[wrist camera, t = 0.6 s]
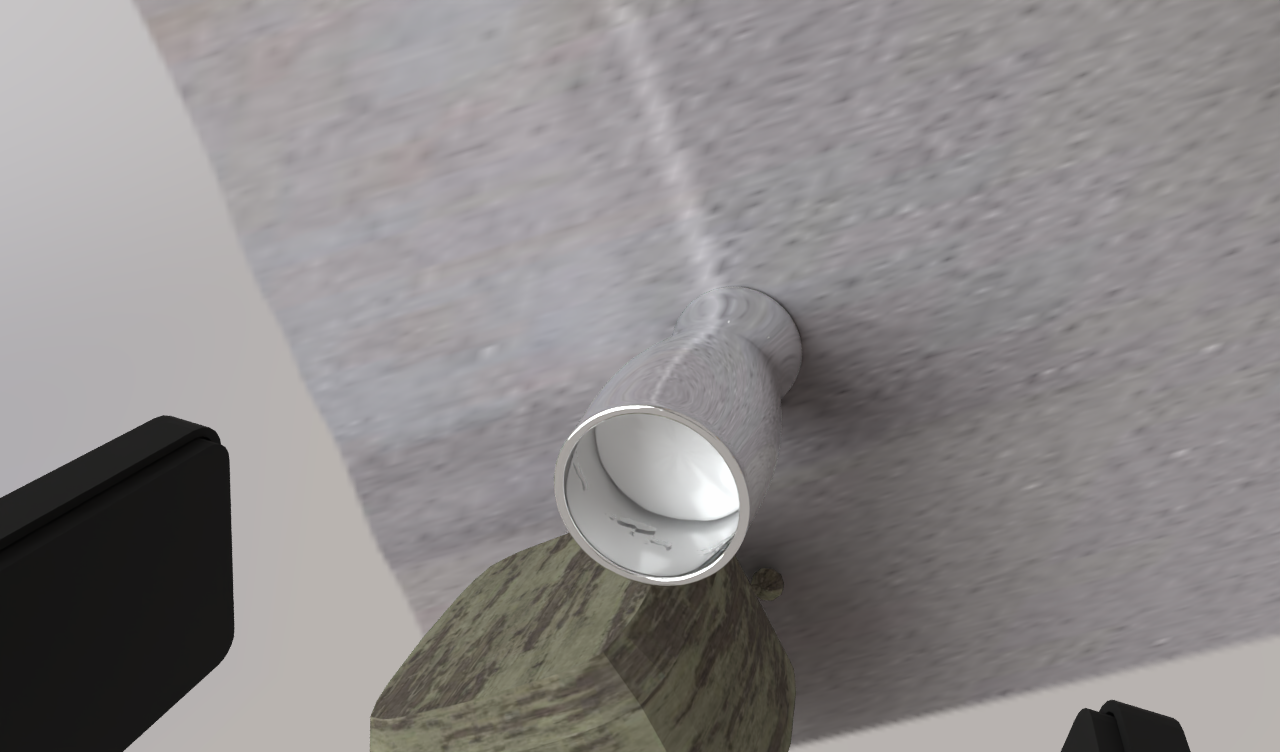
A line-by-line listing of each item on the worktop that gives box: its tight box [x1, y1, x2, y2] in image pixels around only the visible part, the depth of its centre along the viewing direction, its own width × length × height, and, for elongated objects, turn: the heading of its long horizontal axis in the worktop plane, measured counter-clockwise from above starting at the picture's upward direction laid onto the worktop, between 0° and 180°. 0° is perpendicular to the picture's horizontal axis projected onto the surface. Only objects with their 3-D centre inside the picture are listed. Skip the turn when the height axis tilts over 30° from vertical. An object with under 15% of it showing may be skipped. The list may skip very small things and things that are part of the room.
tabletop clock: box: [370, 533, 796, 752], centre depth 37 cm, size 14×9×25 cm, turn 118°
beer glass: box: [554, 287, 802, 587], centre depth 37 cm, size 7×7×15 cm
